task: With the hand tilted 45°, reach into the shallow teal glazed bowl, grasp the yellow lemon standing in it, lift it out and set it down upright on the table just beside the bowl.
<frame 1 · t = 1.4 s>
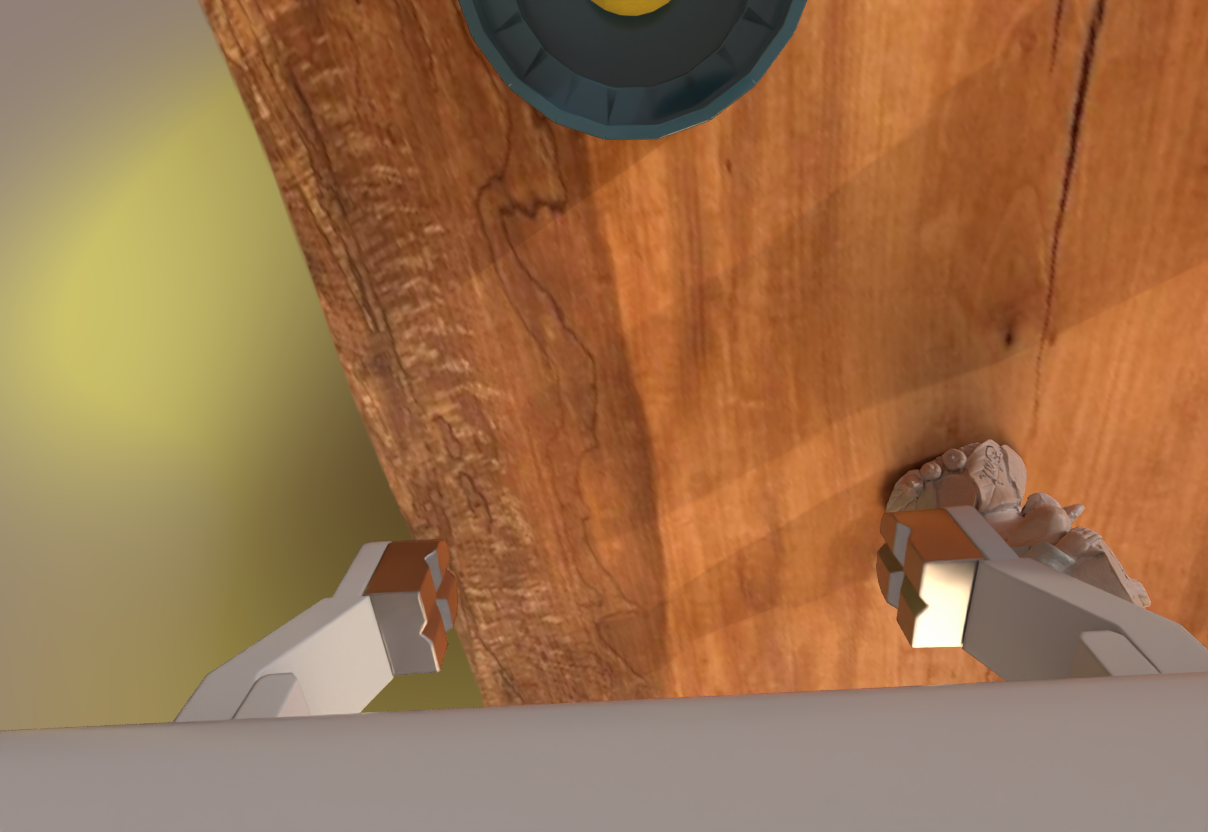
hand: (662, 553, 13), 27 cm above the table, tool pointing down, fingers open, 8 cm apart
figurine: (957, 489, 43), on the table
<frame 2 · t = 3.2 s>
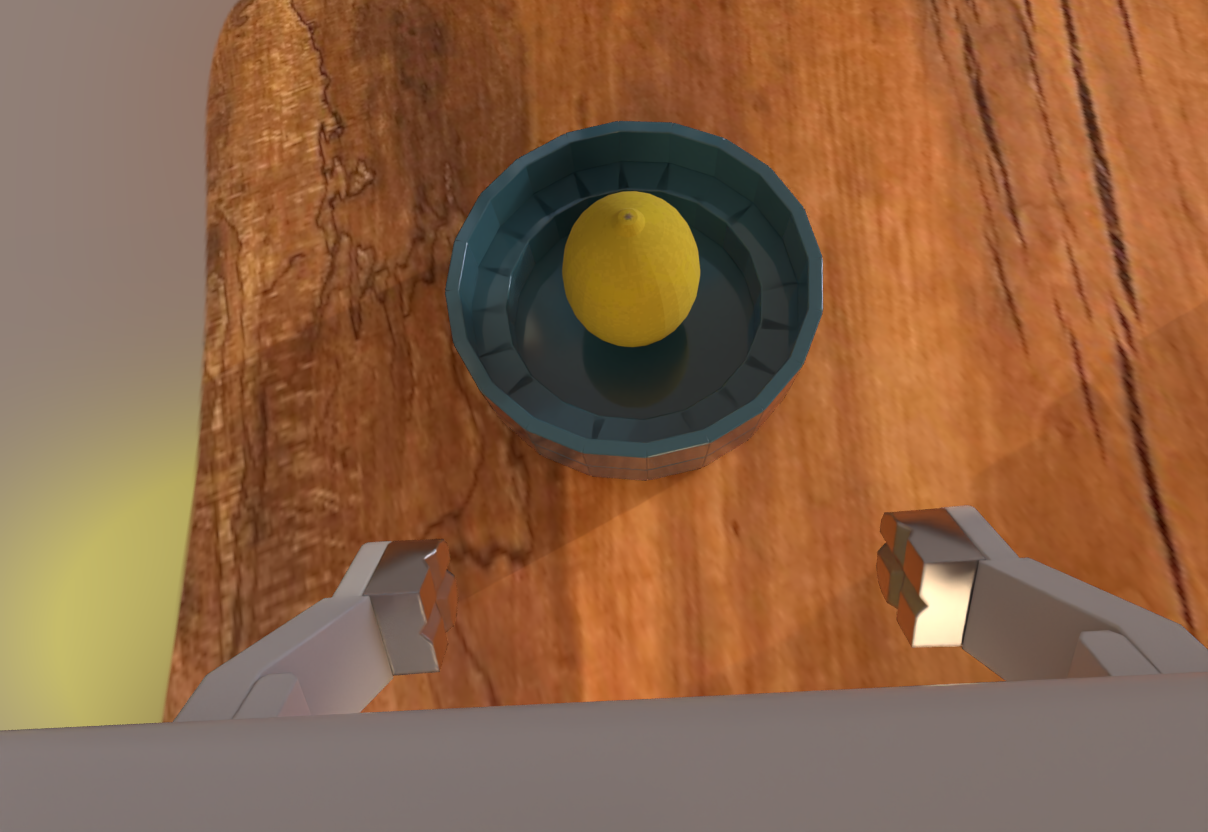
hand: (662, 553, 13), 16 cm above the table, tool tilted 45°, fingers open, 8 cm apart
lemon: (633, 319, 31), resting on bowl
bowl: (634, 322, 31), on the table
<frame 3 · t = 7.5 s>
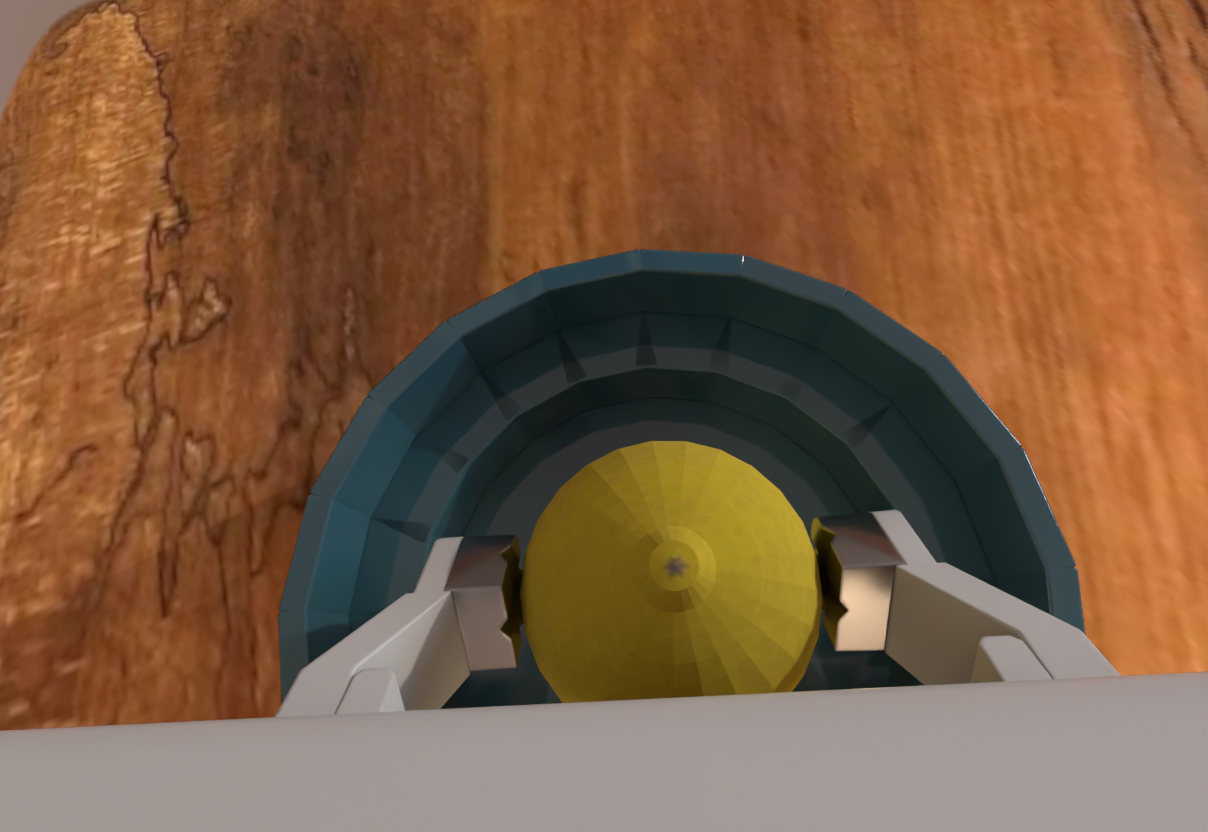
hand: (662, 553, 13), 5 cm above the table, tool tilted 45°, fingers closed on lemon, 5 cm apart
lemon: (663, 605, 17), resting on bowl, touching gripper
bowl: (662, 605, 17), on the table
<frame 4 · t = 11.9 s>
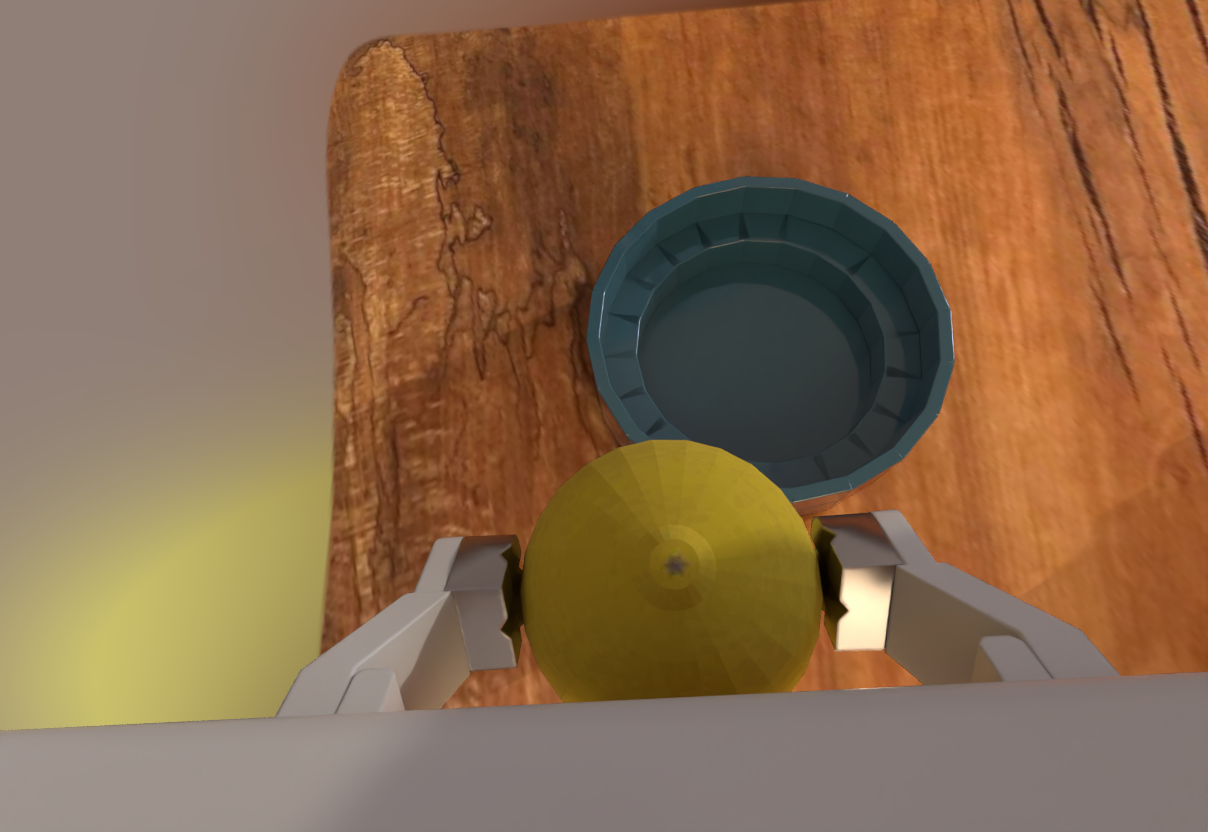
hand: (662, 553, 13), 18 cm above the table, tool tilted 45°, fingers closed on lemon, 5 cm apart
lemon: (664, 604, 17), point 13 cm above the table, touching gripper
bowl: (751, 366, 32), on the table
when the fingers open (4 cm above the table, at t = 16.5 s): lemon stays where it is, on the table.
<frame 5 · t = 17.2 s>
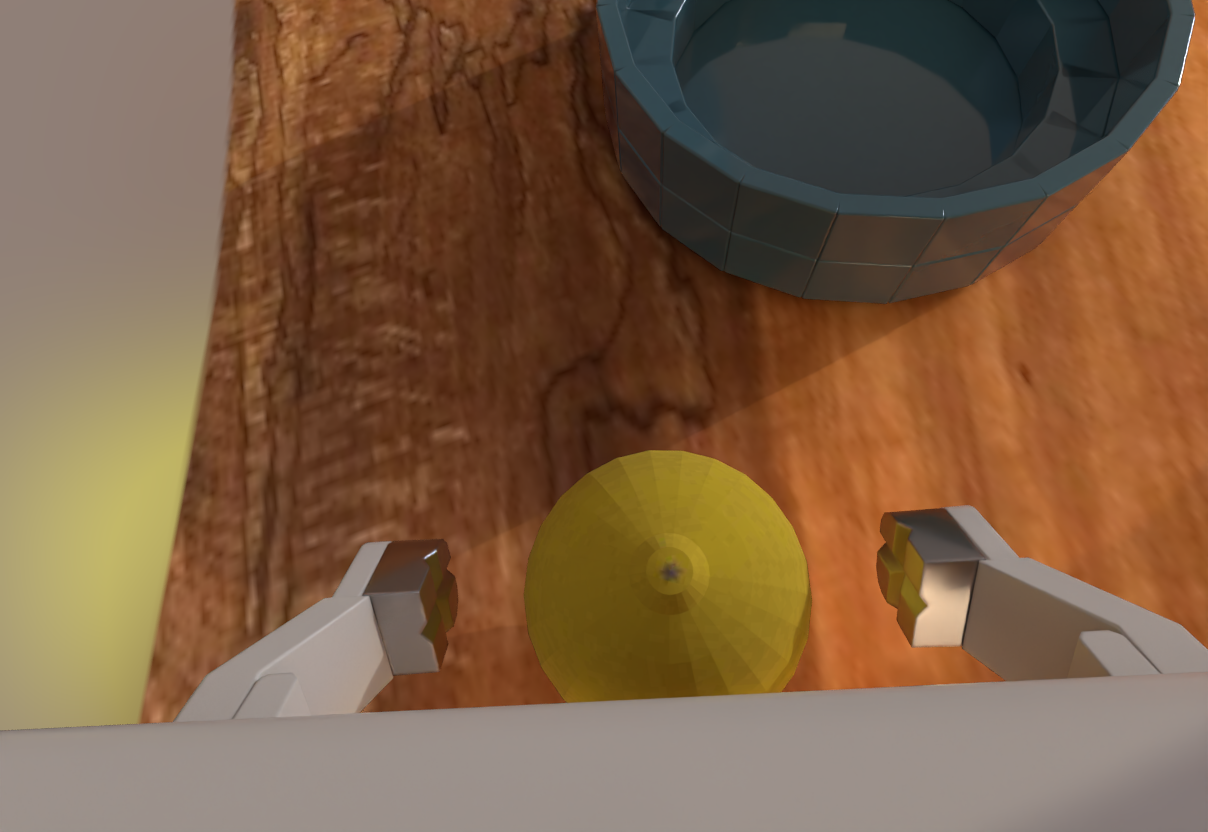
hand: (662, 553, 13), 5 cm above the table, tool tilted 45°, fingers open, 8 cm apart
lemon: (662, 606, 17), on the table
bowl: (837, 106, 22), on the table
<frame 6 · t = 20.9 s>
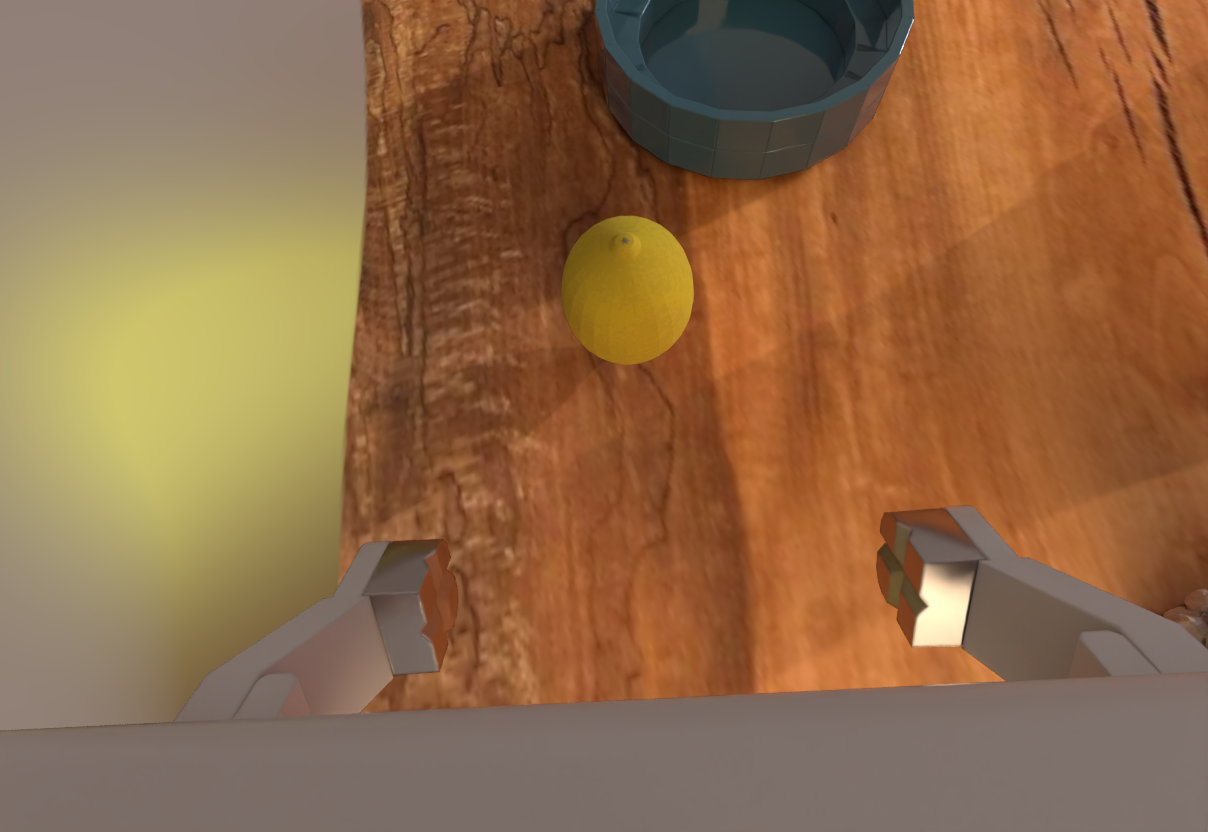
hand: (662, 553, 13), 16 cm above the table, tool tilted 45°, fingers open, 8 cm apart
lemon: (629, 337, 32), on the table
bowl: (739, 70, 37), on the table
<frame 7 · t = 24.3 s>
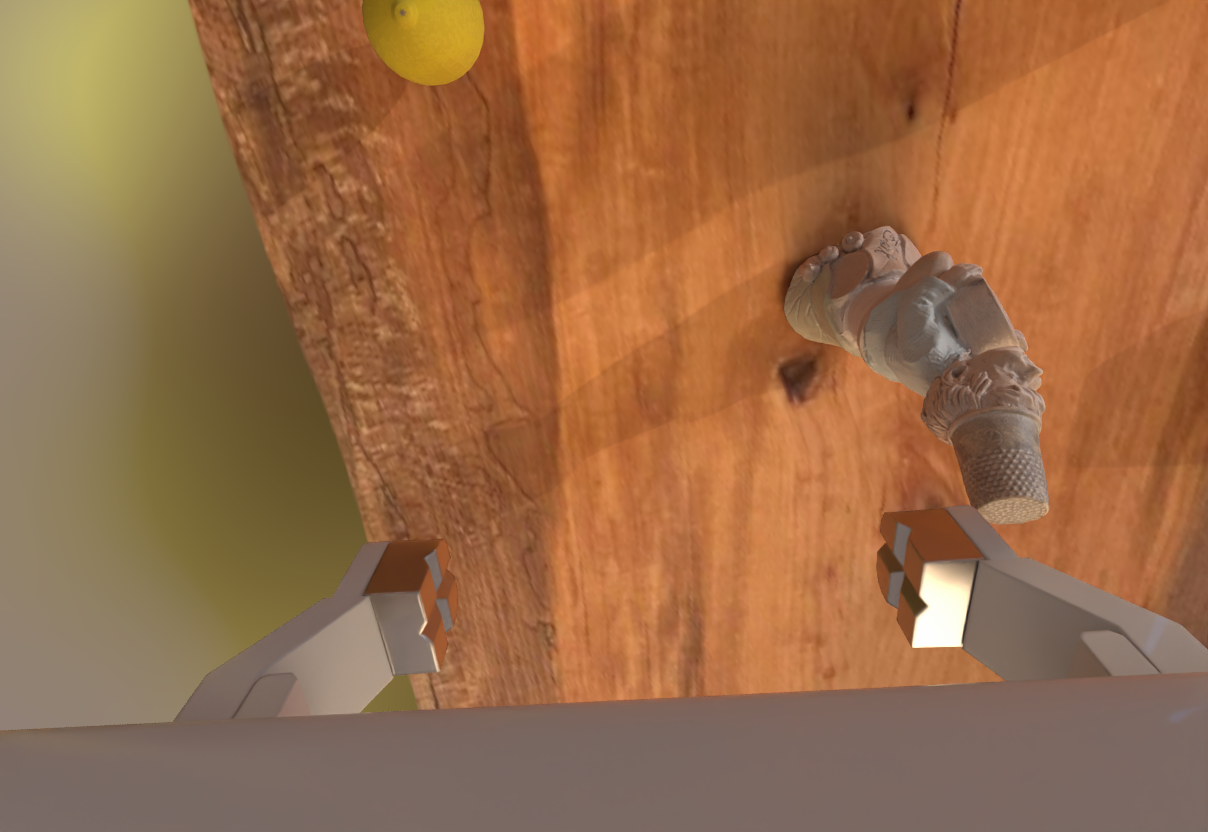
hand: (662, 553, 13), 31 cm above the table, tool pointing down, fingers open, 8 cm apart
lemon: (445, 30, 36), on the table
figurine: (857, 289, 42), on the table
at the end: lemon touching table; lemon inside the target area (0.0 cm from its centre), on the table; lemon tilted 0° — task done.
